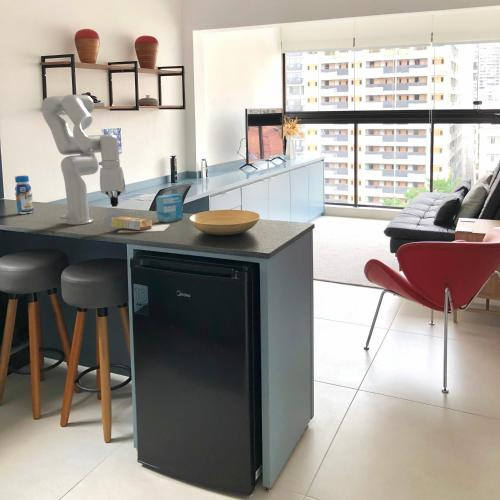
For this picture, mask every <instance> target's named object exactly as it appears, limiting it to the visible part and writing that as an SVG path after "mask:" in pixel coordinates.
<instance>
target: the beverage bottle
mask: <svg viewBox="0 0 500 500" xmlns="http://www.w3.org/2000/svg"><path fill="white" fill-rule="evenodd" d="M14 181H15V183H16V184H15V187H14V190H15V193H14V195H15V202H16V208H17V209H16V210H17V213H18V212H30V211H34V212H35V209H34V201H33V192H32V186H31V185H30V184H29V182H30V179H29V175H17V176H16V175H15V176H14Z"/></svg>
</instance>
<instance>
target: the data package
mask: <svg viewBox="0 0 500 500" xmlns="http://www.w3.org/2000/svg"><path fill="white" fill-rule="evenodd" d="M155 201H156V202H155V203H156V216H157V221H158V222H160V223H161V222H162V223H171V222H175V221H180V220H183V217H184V210H183V209H184V208H183V207H184V206H183V196H182V194H176V193H172V194H165V195H158V196H157V197H156V199H155Z"/></svg>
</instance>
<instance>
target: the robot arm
mask: <svg viewBox="0 0 500 500" xmlns="http://www.w3.org/2000/svg"><path fill="white" fill-rule="evenodd" d="M94 109H95V103H94V100H93V99H92V98H91V96H89V95H88V94H68V95H64V96H63V95H60V96H59V95H55V96H53V95H52V96H48V97H45V98H44V99H43V101H42V102H41V112H42V116H43V120H44V121H45V123H46V125H47V126H48V128H49V129H50V132H51V135H52V137H53V139H54V140H53V141H54V142H55V145H56V148H57V150H58V153H60V155H63V156H66V157H64V158H62V159H61V162H60V168H61V172H62V175H63V180H64V186H65V187H64V188H65V195H66V198H65V199H66V206H67V213H66V214H60V215H59V218H60V219H61V220H65V224H66V225H73V226H75V225H86V224H91V223H93V222H94V219H93V218H90V210H89V201H88V200H89V199H88V192H87V191H88V190H87V184H86V182H85V181H84V180H83V178H82V177H83V176H90V175H94V174H96V173H97V172H98V171H99V170H100V171H99V188H100V193H101V194H104V195H106V196H108V197H109V201H110V202H109V203H110V205H111V207H112V208H113V207H114V208H115V207H118V205H119V196H120V195H121V194H124V193H126V191H127V190H126V181H125V174H124V170H123V168H122V166H121V161H120V151H119V140H118V139H119V138H118V137H117V135H114V134H111V135H108V134H91V135H90V134H89V135H87V134H85V132H84V130H86V129H88V128H89V127H90V126H91V124H92V122H93V117H92V115H91V113H92V112H93V111H94ZM66 115H67V117H68V118H69V120H70V121H71V122H72V123H73V125H74V126H73V130H72V131H71V127H70V125H69V123H67V121H66V120H65V119H64V118H62V116H66ZM96 153H100V157H101V161H98V159H97V156H96ZM100 166H101V167H100ZM99 167H100V169H99ZM113 192H114V193H113Z"/></svg>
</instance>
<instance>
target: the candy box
mask: <svg viewBox="0 0 500 500" xmlns="http://www.w3.org/2000/svg"><path fill="white" fill-rule="evenodd" d="M152 222H153V220H152V219H148V218H140V217H139V218H138V217H129V216H118V217H111V222H110V224H111V227H112V228H119V229H122V228H126V229H134V230H144V229H151V228H152V225H153V223H152Z"/></svg>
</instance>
